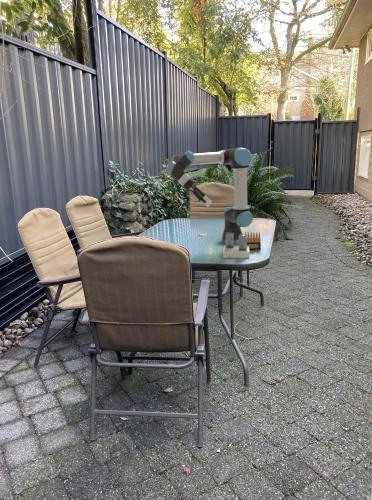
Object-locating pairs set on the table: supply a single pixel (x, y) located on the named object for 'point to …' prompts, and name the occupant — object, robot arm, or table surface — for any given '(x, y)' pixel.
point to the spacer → (229, 240)
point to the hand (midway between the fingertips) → (210, 204)
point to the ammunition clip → (254, 241)
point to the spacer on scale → (242, 242)
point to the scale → (235, 252)
